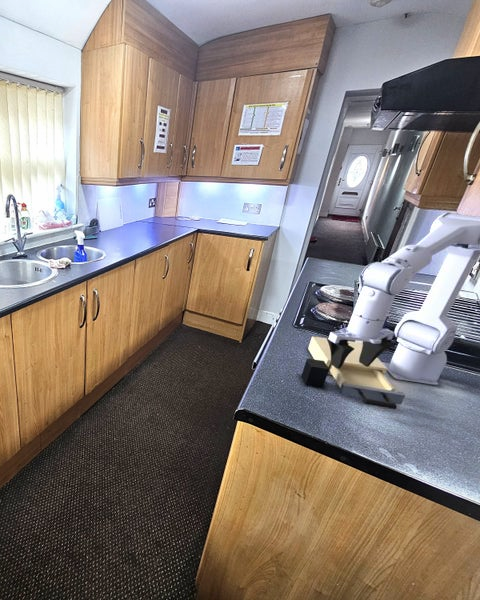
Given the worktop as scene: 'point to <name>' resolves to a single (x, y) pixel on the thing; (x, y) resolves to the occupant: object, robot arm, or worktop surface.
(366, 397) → the drawer
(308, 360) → the black block
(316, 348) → the pale yellow drawer box
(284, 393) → the worktop surface
